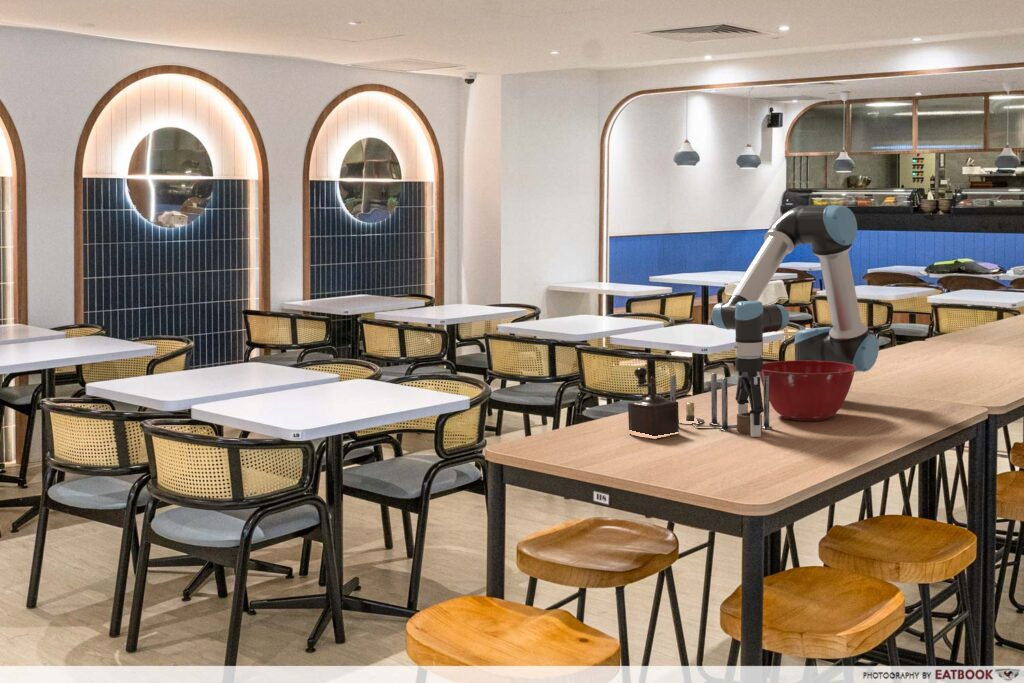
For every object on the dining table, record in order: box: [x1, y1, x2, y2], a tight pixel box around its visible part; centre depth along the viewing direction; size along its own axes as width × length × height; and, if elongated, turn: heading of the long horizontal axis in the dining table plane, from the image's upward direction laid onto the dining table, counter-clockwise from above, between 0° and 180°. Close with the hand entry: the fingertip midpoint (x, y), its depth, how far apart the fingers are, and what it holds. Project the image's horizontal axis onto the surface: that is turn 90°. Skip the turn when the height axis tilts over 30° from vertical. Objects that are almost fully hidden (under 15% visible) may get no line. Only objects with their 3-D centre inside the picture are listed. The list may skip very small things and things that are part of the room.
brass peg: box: [685, 401, 705, 423], centre depth 338 cm, size 8×8×6 cm
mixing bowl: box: [758, 359, 856, 422], centre depth 340 cm, size 28×28×15 cm
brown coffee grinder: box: [627, 367, 680, 436], centre depth 324 cm, size 16×11×18 cm
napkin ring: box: [736, 411, 763, 435], centre depth 322 cm, size 6×6×5 cm
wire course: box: [669, 372, 773, 432], centre depth 329 cm, size 12×28×15 cm, turn 93°
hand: (749, 431), depth 322 cm, fingers open, 13 cm apart
